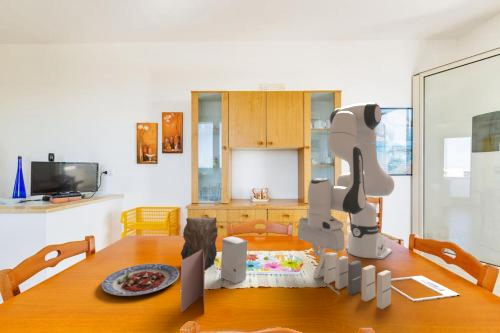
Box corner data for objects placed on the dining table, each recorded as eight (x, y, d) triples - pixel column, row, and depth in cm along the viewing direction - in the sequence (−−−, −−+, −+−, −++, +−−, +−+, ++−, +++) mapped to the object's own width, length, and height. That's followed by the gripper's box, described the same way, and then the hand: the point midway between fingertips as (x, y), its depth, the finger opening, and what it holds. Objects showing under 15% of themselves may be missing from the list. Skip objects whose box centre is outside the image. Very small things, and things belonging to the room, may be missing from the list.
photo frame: (459, 293, 85) (413, 299, 82) (459, 297, 86) (413, 303, 82) (421, 275, 100) (380, 279, 96) (421, 278, 100) (380, 282, 96)
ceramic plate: (192, 273, 102) (192, 266, 102) (146, 308, 78) (146, 298, 78) (139, 265, 111) (139, 258, 111) (83, 293, 87) (83, 284, 86)
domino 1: (313, 275, 99) (321, 254, 96) (322, 272, 102) (330, 251, 99) (316, 278, 98) (325, 257, 95) (325, 275, 101) (333, 254, 98)
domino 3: (335, 287, 91) (335, 258, 91) (343, 283, 94) (344, 255, 94) (339, 289, 90) (339, 260, 90) (348, 285, 93) (348, 257, 93)
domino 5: (361, 299, 83) (361, 268, 83) (370, 295, 86) (370, 264, 86) (366, 301, 82) (366, 270, 81) (375, 297, 84) (375, 266, 84)
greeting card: (200, 293, 86) (200, 248, 86) (220, 298, 83) (220, 251, 83) (178, 312, 76) (178, 260, 75) (200, 317, 73) (200, 264, 73)
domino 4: (347, 293, 87) (348, 263, 87) (356, 289, 90) (356, 260, 90) (352, 295, 86) (352, 264, 86) (361, 291, 89) (361, 261, 88)
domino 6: (376, 306, 79) (377, 273, 79) (385, 301, 82) (385, 269, 82) (382, 309, 77) (382, 275, 77) (390, 304, 80) (391, 271, 80)
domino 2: (323, 281, 95) (325, 254, 95) (332, 278, 98) (333, 252, 98) (327, 283, 94) (328, 256, 93) (336, 280, 97) (337, 253, 96)
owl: (179, 265, 110) (179, 218, 110) (201, 257, 120) (201, 213, 120) (200, 273, 102) (200, 222, 102) (222, 263, 113) (222, 217, 113)
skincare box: (220, 277, 98) (220, 238, 98) (231, 272, 103) (231, 235, 103) (236, 284, 93) (236, 243, 93) (247, 278, 98) (247, 239, 97)
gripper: (294, 216, 107) (294, 250, 107) (336, 226, 90) (335, 266, 90) (305, 215, 110) (304, 247, 110) (347, 224, 93) (347, 262, 94)
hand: (319, 256), depth 100 cm, fingers closed
